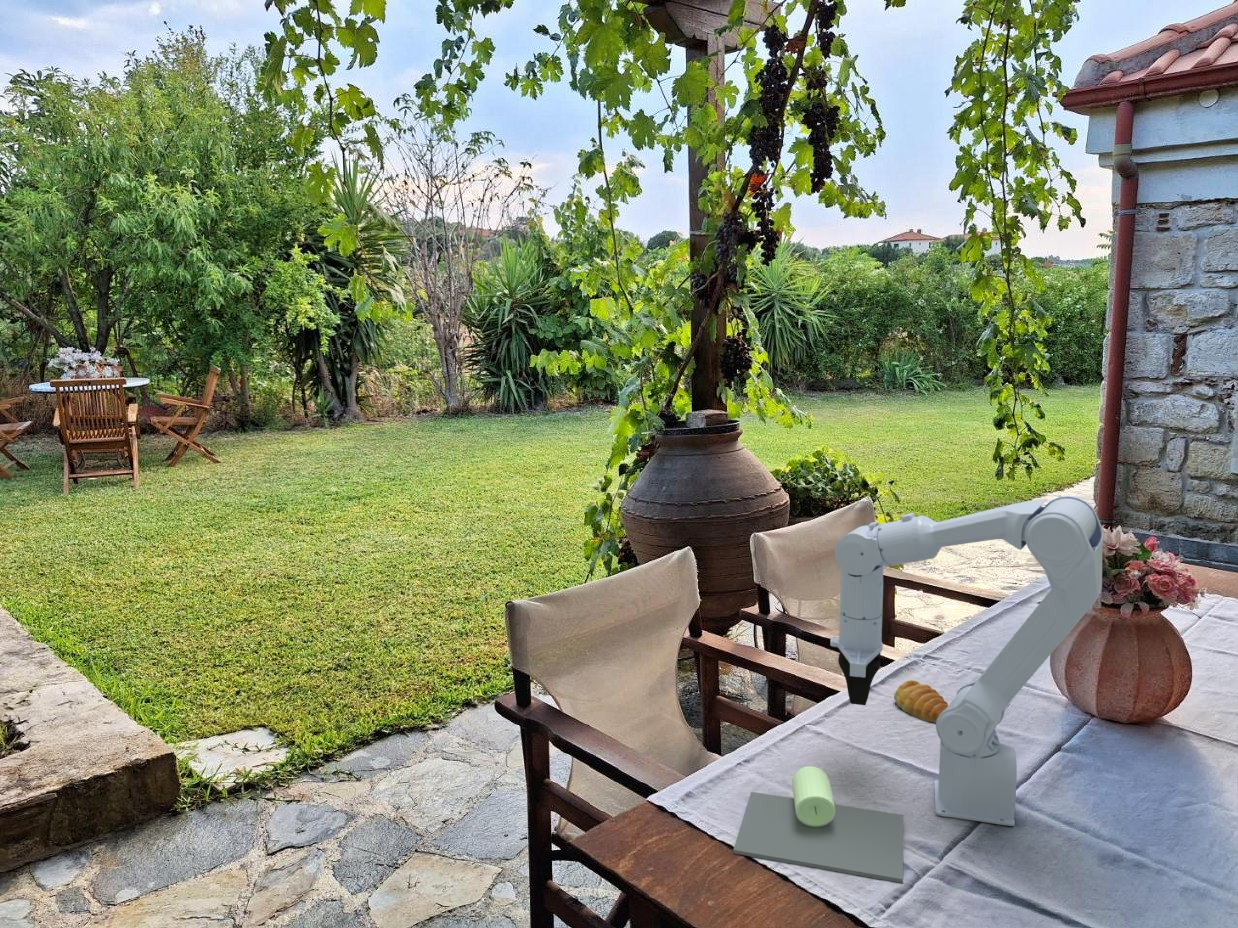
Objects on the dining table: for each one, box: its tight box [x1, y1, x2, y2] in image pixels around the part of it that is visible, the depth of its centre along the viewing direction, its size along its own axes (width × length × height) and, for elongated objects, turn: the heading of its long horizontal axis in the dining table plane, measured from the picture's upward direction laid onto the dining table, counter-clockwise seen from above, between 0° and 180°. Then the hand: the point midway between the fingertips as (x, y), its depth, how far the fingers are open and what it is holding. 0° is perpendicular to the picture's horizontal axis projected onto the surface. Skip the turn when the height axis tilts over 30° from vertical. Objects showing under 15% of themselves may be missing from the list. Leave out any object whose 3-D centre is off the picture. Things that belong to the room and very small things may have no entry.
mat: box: [733, 791, 905, 884], centre depth 109 cm, size 20×13×1 cm, turn 72°
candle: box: [792, 765, 836, 827], centre depth 112 cm, size 5×5×8 cm
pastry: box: [893, 679, 949, 724], centre depth 139 cm, size 9×7×4 cm
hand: (858, 702), depth 122 cm, fingers closed
